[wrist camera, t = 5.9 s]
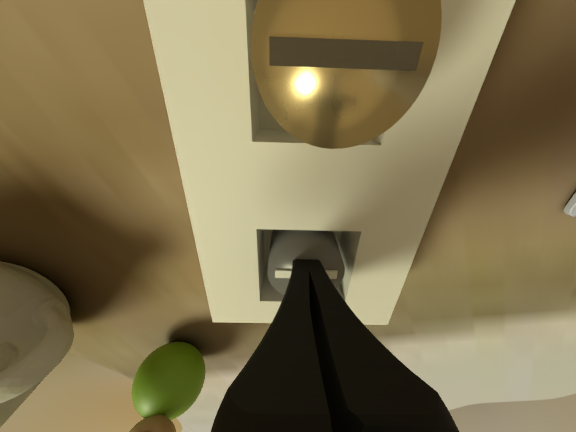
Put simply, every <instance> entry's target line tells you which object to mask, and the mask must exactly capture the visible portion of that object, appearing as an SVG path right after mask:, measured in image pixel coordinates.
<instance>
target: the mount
mask: <svg viewBox="0 0 576 432" xmlns="http://www.w3.org/2000/svg"><path fill="white" fill-rule="evenodd" d="M143 1H144V6H145V11H146V15H147V20H148V24H149V29H150V34H151V38H152V43H153V48H154V52H155V57H156V62H157V66H158V71H159V76H160V80H161V85H162V89H163V94H164V99H165V103H166V108H167V113H168V117H169V122H170V127H171V131H172V136H173V140H174V145H175V150H176V154H177V159H178V164H179V168H180V173H181V178H182V182H183V187H184V191H185V196H186V201H187V205H188V210H189V215H190V219H191V224H192V229H193V233H194V238H195V242H196V247H197V252H198V256H199V261H200V266H201V270H202V275H203V280H204V284H205V289H206V293H207V298H208V303H209V307H210V312H211V317H212V321H213V322H228V323H272V321H273V319H274V317H275V315H276V313H277V311H278V309H279V307H280V304H281V302H282V300H283V297H284V295H282V294H281V293H279V292H278V291H277V290H275V289H274V288H273V286H272V285H271V284H270V281H269V279H268V274H267V271H268V261H269V251H270V242H271V234H272V231H273V230H317V231H334V235H335V238H336V241H337V244H338V247H339V250H340V253H341V256H342V259H343V262H344V266H345V273H344V277H343V279H342V282H341V283H340V284H339V286H338V287H337V288H336V289H337V290H338V292H339V293H340V295H341V296H342V298H343V299H344V301H345V302H346V303H347V305H348V306H349V307H350V309H351V310H352V311H353V312H354V314H355V315H356V316H357V317H358V319H359V320H360V321H361V322H362V323H363V324H368V325H388V322H389V320H390V317H391V315H392V312H393V310H394V307H395V305H396V302H397V300H398V297H399V295H400V292H401V290H402V287H403V284H404V282H405V279H406V277H407V274H408V272H409V269H410V267H411V264H412V262H413V259H414V257H415V254H416V252H417V249H418V246H419V244H420V241H421V239H422V236H423V234H424V231H425V229H426V226H427V224H428V221H429V219H430V216H431V214H432V211H433V208H434V206H435V203H436V201H437V198H438V196H439V193H440V191H441V188H442V186H443V183H444V181H445V178H446V176H447V173H448V170H449V168H450V165H451V163H452V160H453V158H454V155H455V153H456V150H457V148H458V145H459V143H460V140H461V138H462V135H463V132H464V130H465V127H466V125H467V122H468V120H469V117H470V115H471V112H472V110H473V107H474V105H475V102H476V99H477V97H478V94H479V92H480V89H481V87H482V84H483V82H484V79H485V77H486V74H487V72H488V69H489V67H490V64H491V61H492V59H493V56H494V54H495V51H496V49H497V46H498V44H499V41H500V39H501V36H502V34H503V31H504V29H505V26H506V23H507V21H508V18H509V16H510V13H511V11H512V8H513V6H514V3H515V1H516V0H441V9H442V20H441V34H440V41H439V46H438V50H437V55H436V59H435V61H434V64H433V67H432V70H431V73H430V75H429V77H428V79H427V82H426V84H425V86H424V88H423V89H422V91H421V93H420V94H419V96H418V98H417V99H416V101H415V102H414V103H413V105H412V106H411V108H410V109H409V110H408V111H407V112H406V113H405V114H404V116H403V117H402V118H401V119H400V120H399V121H398V122H397V123H395V124H394V125H393V126H392V127H391V128H390V129H388V130H387V131H385V132H384V133H383V134H381V135H379V136H378V137H376V138H374V139H372V140H370V141H368V142H366V143H363V144H360V145H357V146H354V147H349V148H343V149H327V148H320V147H316V146H312V145H309V144H307V143H304V142H302V141H300V140H299V139H297V138H295V137H293V136H292V135H291V134H289V133H288V132H287V131H285V130H284V129H283V128H282V127H281V126H280V125H279V124H278V123H277V121H276V120H275V119H274V118H273V116H272V115H271V114H270V112H269V110H268V109H267V107H266V105H265V104H264V102H263V99H262V97H261V95H260V93H259V90H258V87H257V84H256V81H255V77H254V72H253V67H252V57H251V32H252V24H253V17H254V13H255V9H256V4H257V1H258V0H143Z"/></svg>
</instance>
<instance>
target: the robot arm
mask: <svg viewBox="0 0 576 432" xmlns="http://www.w3.org/2000/svg"><path fill="white" fill-rule="evenodd" d="M564 212H565V213H566V214H568V215H570V216H575V217H576V192H575V194H574V195H573V196H572V198H571V199H570V201H569V202H568V203H567V205H566V206H565V208H564ZM211 432H459V430H458V428H457V427H456V424H455V422H454V420H453V419H452V416H451V415H450V413H449V411H448V409H447V407H446V406H445V404H444V402H443V401H442V399H441V398H440V396H439V394H438V392H436V391H435V390H434V389H433V388H431V387H430V386H429V385H428V384H426V383H425V382H424V381H423V380H422V379H420V378H419V377H418V376H417V375H415V374H414V373H413V372H412V371H410V370H409V369H408V368H407V367H406V366H405V365H404V364H403V363H402V362H400V361H399V360H398V359H397V358H396V357H395V356H394V355H393V354H392V353H391V352H390V351H389V350H388V349H387V348H386V347H385V346H384V345H383V344H382V343H381V342H380V341H379V340H378V339H377V338H376V337H375V336H374V335H373V334H372V333H371V332H370V331H369V330H368V329H367V328H366V327H365V326H364V324H363V323H362V322H361V321H360V320H359V319H358V317H357V316H356V315H355V314H354V312H353V311H352V310H351V309H350V307H349V306H348V305H347V303H346V302H345V301H344V299H343V298H342V296H341V295H340V293H339V292H338V290H337V289H336V287H335V286H334V284H333V283H332V281H331V280H330V278H329V276H328V274H327V273H326V271H325V269H324V267H323V265H322V263H321V261H320V260H310V259H295V260H293V263H292V272H291V276H290V280H289V283H288V286H287V289H286V292H285V295H284V297H283V300H282V302H281V304H280V307H279V309H278V311H277V313H276V315H275V317H274V319H273V321H272V323H271V325H270V327H269V329H268V330H267V332H266V334H265V336H264V337H263V339H262V341H261V342H260V344H259V346H258V347H257V349H256V350H255V352H254V353H253V355H252V356H251V358H250V359H249V361H248V362H247V364H246V365H245V367H244V368H243V369H242V371H241V372H240V373H239V375H238V376H237V377H236V379H235V380H234V381H233V383H232V384H231V385H230V387H229V388H228V390H227V392H226V394H225V396H224V398H223V401H222V403H221V405H220V407H219V410H218V412H217V415H216V417H215V420H214V423H213V426H212V430H211Z"/></svg>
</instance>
